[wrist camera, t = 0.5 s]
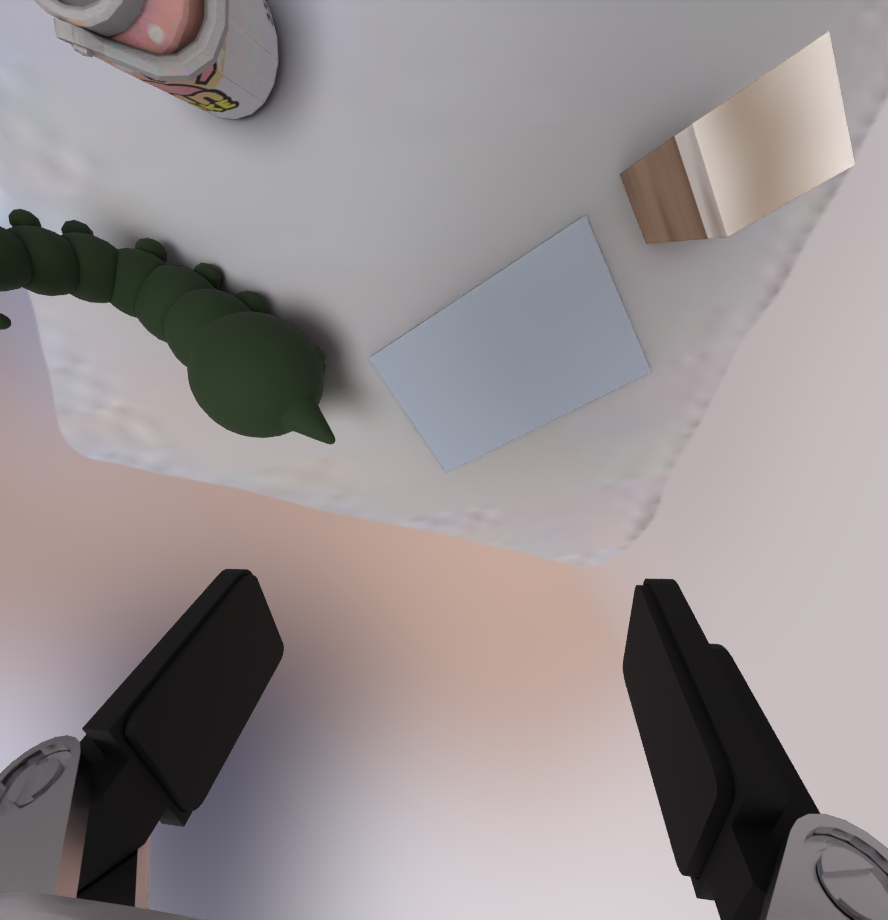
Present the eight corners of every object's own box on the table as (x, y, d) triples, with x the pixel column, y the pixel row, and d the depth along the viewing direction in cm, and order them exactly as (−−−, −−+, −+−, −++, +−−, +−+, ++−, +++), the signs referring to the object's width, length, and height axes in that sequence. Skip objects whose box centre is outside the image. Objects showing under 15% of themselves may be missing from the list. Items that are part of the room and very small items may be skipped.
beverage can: (307, -14, 25) (168, -206, 15) (294, 146, 29) (176, 85, 19) (167, -62, 25) (-75, -291, 15) (172, 105, 29) (-16, 20, 19)
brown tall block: (696, 122, 26) (829, 31, 15) (719, 199, 28) (854, 164, 17) (619, 174, 28) (692, 123, 17) (646, 243, 29) (727, 237, 19)
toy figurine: (131, 297, 38) (352, 447, 40) (-194, 310, 21) (215, 572, 23) (152, 196, 34) (398, 369, 35) (-233, 112, 17) (272, 451, 18)
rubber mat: (584, 215, 29) (585, 215, 28) (649, 369, 33) (651, 371, 33) (369, 357, 36) (367, 358, 35) (446, 470, 40) (445, 473, 39)
